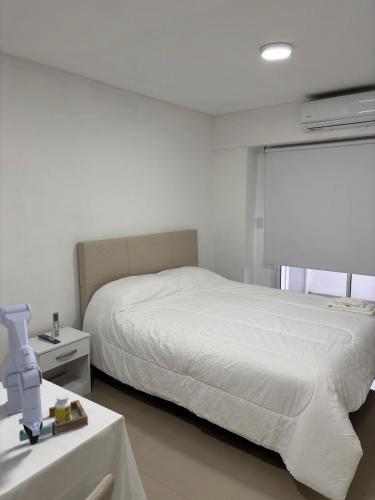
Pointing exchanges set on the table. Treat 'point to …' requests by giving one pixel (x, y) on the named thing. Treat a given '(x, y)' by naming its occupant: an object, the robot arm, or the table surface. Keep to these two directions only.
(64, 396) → the supplement bottle
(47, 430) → the swing gate
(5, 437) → the table surface
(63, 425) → the brown frame
